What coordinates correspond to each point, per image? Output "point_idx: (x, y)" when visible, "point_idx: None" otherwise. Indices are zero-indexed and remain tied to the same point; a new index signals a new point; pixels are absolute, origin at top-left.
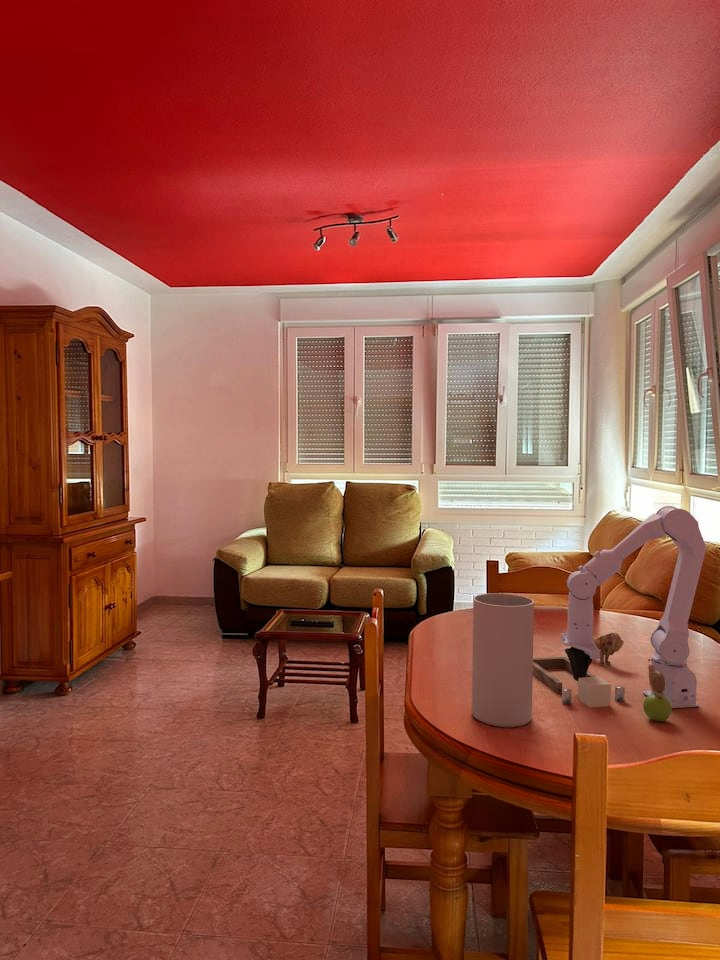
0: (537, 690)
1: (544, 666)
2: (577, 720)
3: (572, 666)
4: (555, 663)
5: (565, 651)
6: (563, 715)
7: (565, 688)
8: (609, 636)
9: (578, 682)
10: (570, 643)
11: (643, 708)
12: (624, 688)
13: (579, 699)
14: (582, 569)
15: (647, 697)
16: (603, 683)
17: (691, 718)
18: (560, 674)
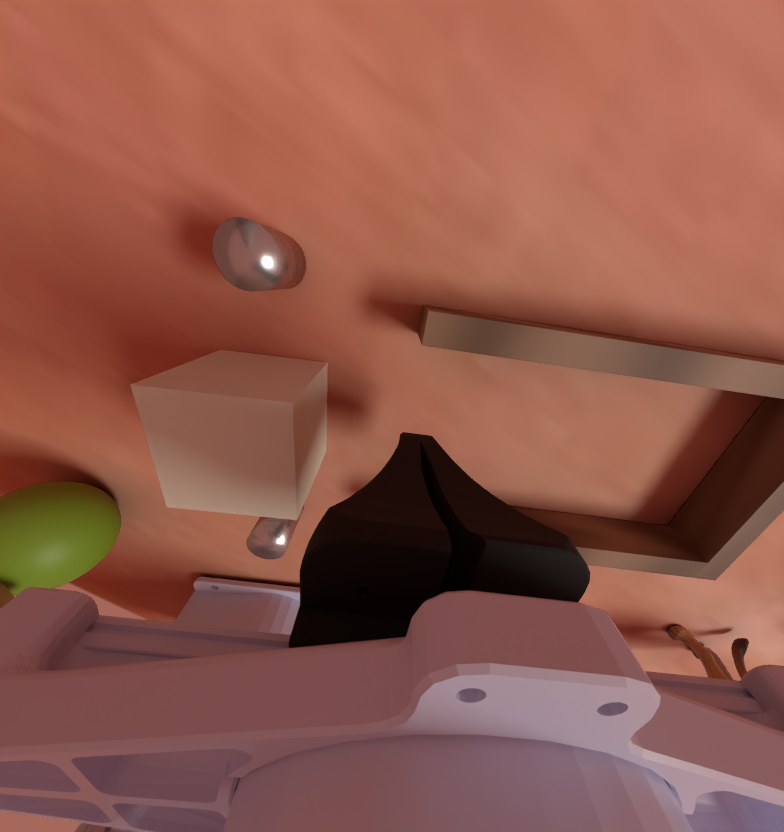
0: (506, 208)
1: (734, 460)
2: (24, 149)
3: (439, 468)
4: (709, 515)
5: (556, 535)
6: (92, 100)
7: (276, 267)
8: None
9: (303, 391)
10: (403, 714)
11: (70, 495)
12: (253, 551)
13: (314, 361)
14: None
15: (5, 543)
16: (177, 479)
17: (130, 581)
18: (618, 475)
